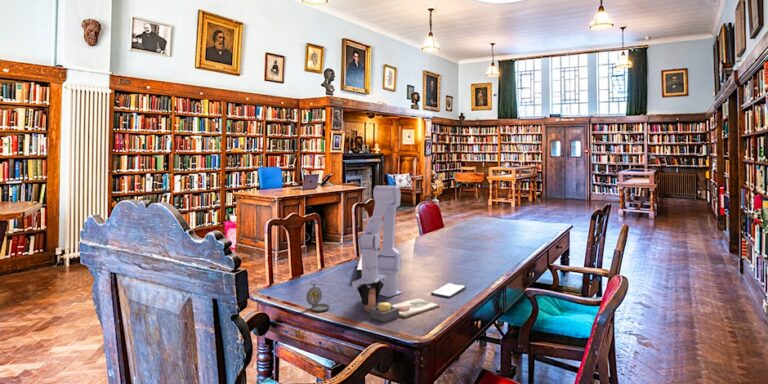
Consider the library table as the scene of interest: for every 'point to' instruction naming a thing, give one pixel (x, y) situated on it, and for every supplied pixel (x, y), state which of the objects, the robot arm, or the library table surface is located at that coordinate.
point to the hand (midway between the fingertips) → (370, 303)
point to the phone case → (448, 290)
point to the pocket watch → (316, 299)
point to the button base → (384, 314)
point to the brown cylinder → (371, 299)
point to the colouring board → (414, 307)
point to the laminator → (359, 269)
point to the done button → (384, 306)
